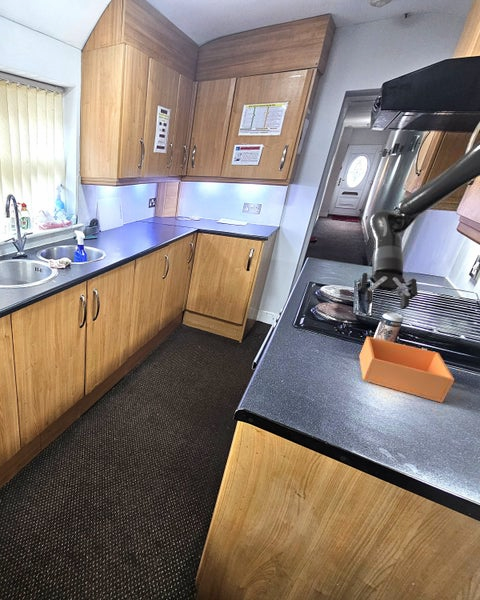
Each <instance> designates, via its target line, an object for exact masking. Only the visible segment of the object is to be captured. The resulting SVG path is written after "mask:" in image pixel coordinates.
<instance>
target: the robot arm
mask: <svg viewBox="0 0 480 600" xmlns="http://www.w3.org/2000/svg"><path fill="white" fill-rule="evenodd" d="M478 177H480V140H478V141H477V142H476V143H475V144H474V145H473V146H472V147H471V148H470V149H469V150H468V151H467V152H466V153H464V155H462V156H461V157H460V159H458V160H457V161H455V162H454V163H453V164H452V165H451V166H449V167H447V168H446V170H444V171H443V172H442V173H440V174H439V175H437V176H435V177H434V178H432V179H431V180H429V181H427V182H426V183H425V184H423V185H421V186H420V187H419V188H417V189H416V190H414V191H413V192H411V193H410V194H409V195H407V196H406V197H405V198H403V199H402V200H401V201H400V202H398V204H397V208H398V210H399V212H400V214H399V213H396V212H393V211H391V210H387V209H381V210H377V211H376V212H374V213H373V214H372V215H371V216H370V218H369V219H368V230H369V233H370V236H371V238H372V241H373V254H372V260H371V274H368V273H367V272H363V273H361V275H360V276H359V279H358V280H359V281H358V287H357V291H358V292H362V293H364V301H365V303H366V304H368V305H371V304H372V303H373V301H374V290H376V289H378V290H380V291H381V290H382V291H384V290H385V291H388V292H393V293H394V294H395V295H398V296H399V297H400V298H399V308H400V309H399V310H405V309H407V308H408V307H409V306H410V299H413V298H415V297H417V296H418V295H419V294H418V284H417V279H416V278H411V279H405V278H404V253H403V238H402V236H400V234H401V233H403V232H405V231H406V230H407V229H408V228H409V227H411V225H412V224H413V223H414V222H415V221H416V220H417V219H418V218H419V217H420V216H421V215H422V214H423V213H425V212H427V211H428V210H430V209H433V207H435V206H436V205H438V204H439V203H441V202H442V201H444V200H445V199H447V198H448V197H449V196H451V195H452V194H454V192H456V191H457V190H459V189H460V188H462V187H464V185H466V184H468V183H469V182H471V181H473V180H475V179H476V178H478ZM369 280H370V282H372V285H371V286H369V287H367V282H368V281H369ZM406 287H407V288H406Z"/></svg>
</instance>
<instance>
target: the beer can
mask: <svg viewBox="0 0 480 600" xmlns="http://www.w3.org/2000/svg"><path fill="white" fill-rule="evenodd" d="M403 322H404V318H403V315H402V314H399V313H396V312H391V311H388V312H385V313H383V314H382V316H381V318H380V320H379V322H378V326H377V328H376V330H375V333H374V335H373V338H376V339H380V340H385V341H389V342H393V343H395V340H396V338H397V335H398V333H399V332H400V329H401V326H402V324H403Z"/></svg>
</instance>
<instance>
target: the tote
mask: <svg viewBox="0 0 480 600" xmlns="http://www.w3.org/2000/svg"><path fill="white" fill-rule="evenodd" d="M358 357H359V363H360V369H361V375H362V380H363V381H365V382H368V383H372V384H375V385H379V386H382V387H387V388H389V389H393V390H396V391H399V392H404V393H407V394H410V395H413V396H417V397H421V398H424V399H427V400H431V401H434V402H438V403H441V404H443V403H444V400H445V398H446V397H447V395H448V394H449V391H450V390H451V388H452V386H453V384H454V382H455V378H454V377H453V374H452V373H451V371H450V370H449V368H448V366H447V365H446V363H445V361H444V360H443V358H442V356H441V354H440V353H439V352H436V351H432V350H428V349H424V348H419V347H416V346H411V345H406V344H401V343H397V342H389V341H385V340H380V339H376V338H374V337H373V336H366V338H365V340H364V343H363V346H362V348H361V351H360V353H359V356H358Z"/></svg>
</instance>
